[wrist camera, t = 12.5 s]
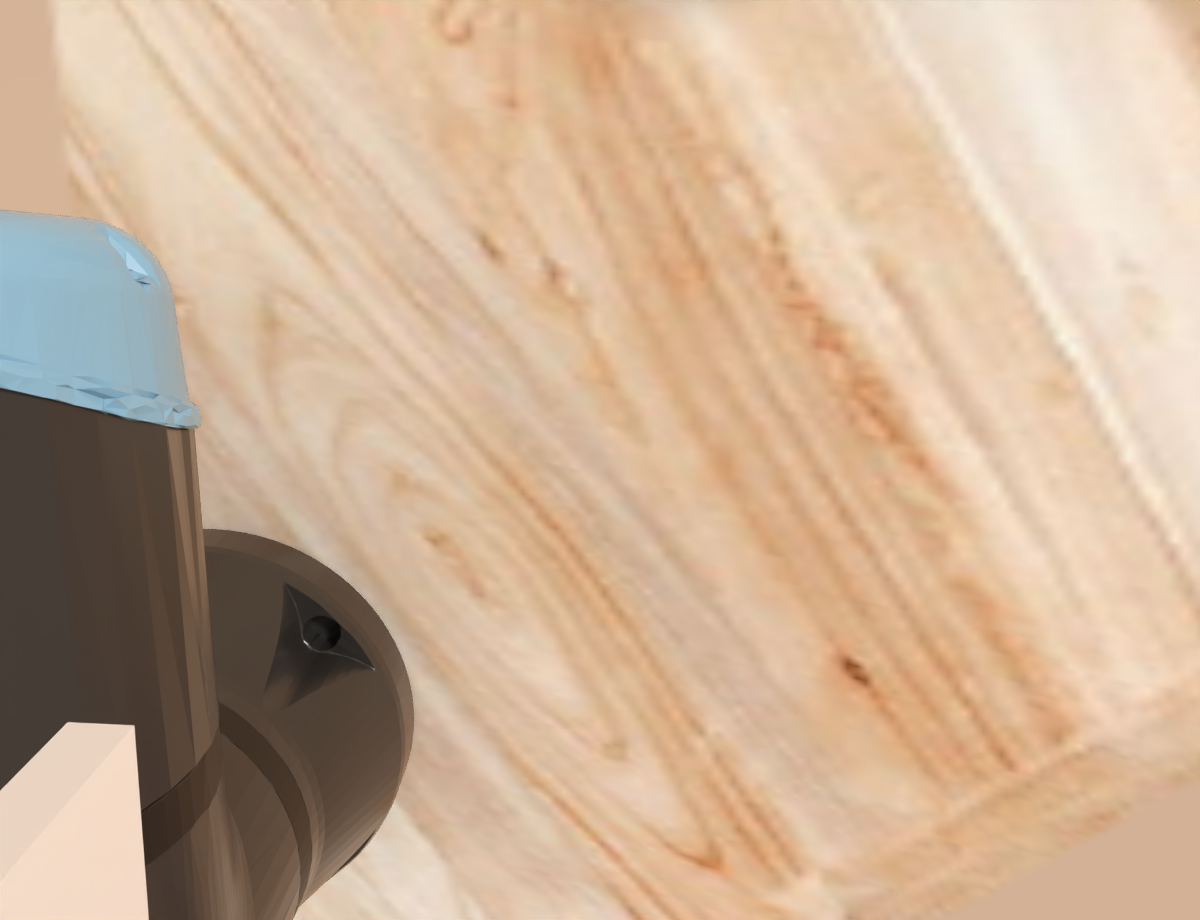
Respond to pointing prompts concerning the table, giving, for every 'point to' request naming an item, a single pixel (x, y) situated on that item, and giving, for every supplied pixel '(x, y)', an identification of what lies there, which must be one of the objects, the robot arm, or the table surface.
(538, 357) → the table surface
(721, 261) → the table surface
